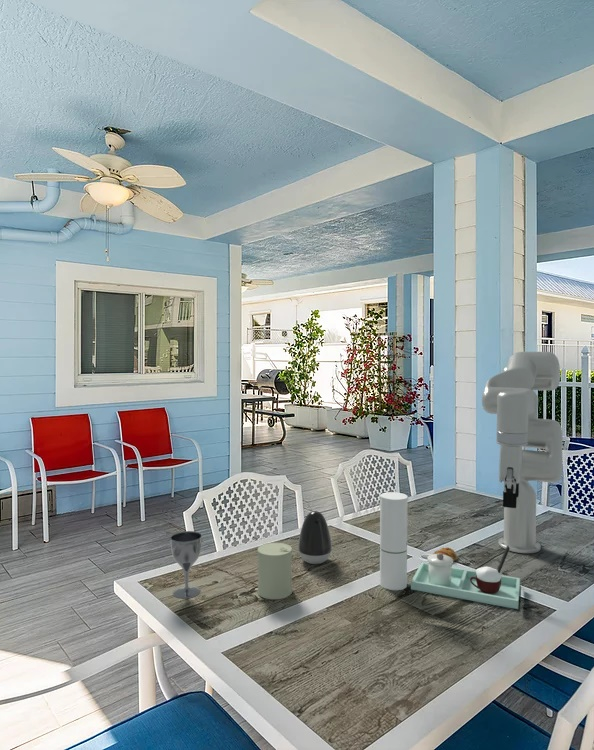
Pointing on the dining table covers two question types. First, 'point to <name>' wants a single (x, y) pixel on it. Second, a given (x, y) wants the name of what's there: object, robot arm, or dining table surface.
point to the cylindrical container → (393, 540)
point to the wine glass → (186, 558)
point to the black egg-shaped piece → (315, 539)
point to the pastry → (447, 553)
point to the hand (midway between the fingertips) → (510, 501)
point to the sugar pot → (440, 569)
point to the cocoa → (489, 577)
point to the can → (274, 570)
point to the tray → (469, 587)
